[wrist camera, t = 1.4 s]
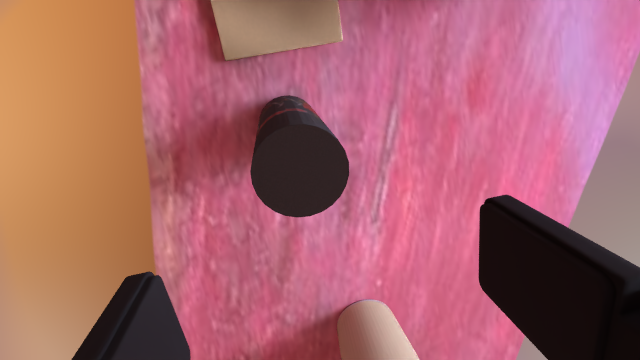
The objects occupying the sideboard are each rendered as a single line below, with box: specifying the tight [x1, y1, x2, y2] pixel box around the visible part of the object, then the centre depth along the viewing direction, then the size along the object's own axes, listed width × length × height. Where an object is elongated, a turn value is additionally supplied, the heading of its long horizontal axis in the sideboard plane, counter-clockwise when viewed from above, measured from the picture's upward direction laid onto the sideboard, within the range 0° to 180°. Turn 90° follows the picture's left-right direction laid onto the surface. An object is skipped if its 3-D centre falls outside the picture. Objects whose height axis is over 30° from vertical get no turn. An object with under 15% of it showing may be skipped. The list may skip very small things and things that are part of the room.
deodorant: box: [251, 96, 349, 217], centre depth 27 cm, size 6×6×15 cm
